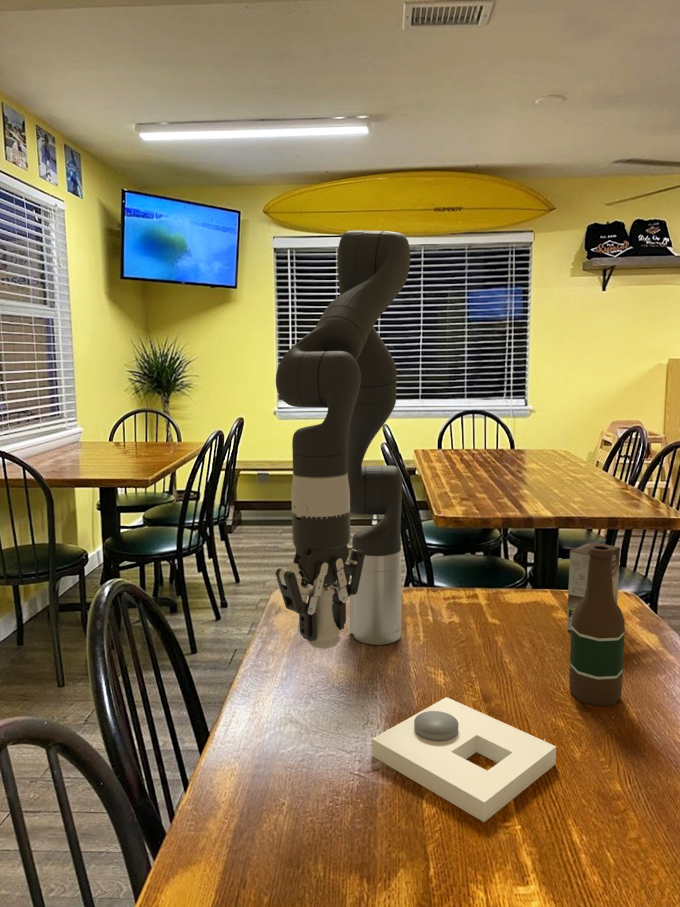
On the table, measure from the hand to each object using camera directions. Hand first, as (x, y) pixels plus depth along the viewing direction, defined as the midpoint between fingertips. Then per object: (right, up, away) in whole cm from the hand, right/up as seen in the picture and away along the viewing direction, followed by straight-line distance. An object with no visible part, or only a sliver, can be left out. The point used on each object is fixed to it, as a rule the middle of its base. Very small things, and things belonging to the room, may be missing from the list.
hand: (323, 633), depth 88 cm
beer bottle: (+42, -15, +17) cm, 48 cm away
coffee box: (+52, -11, +43) cm, 68 cm away
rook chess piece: (0, -2, 0) cm, 1 cm away
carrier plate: (+19, -17, 0) cm, 25 cm away
